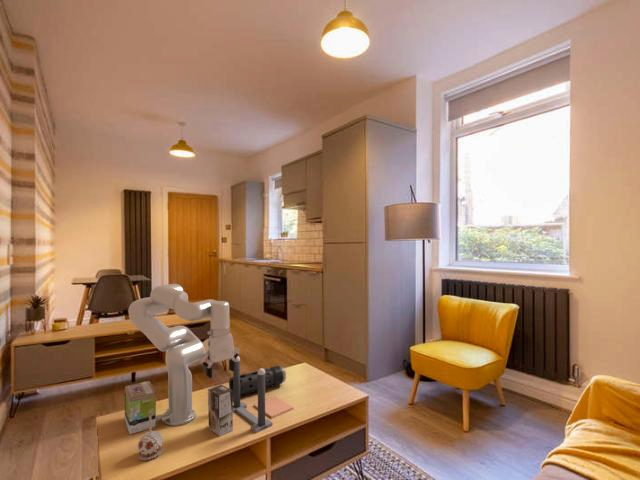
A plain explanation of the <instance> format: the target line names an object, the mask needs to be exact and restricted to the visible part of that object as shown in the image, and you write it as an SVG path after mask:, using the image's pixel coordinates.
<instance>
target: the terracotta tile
mask: <svg viewBox="0 0 640 480" xmlns="http://www.w3.org/2000/svg"><path fill="white" fill-rule="evenodd" d="M253 407H254V408H256V409H257V410H258V402H256V403H254V404H253ZM294 408H295V407H294V406H292V405H291V404H289V403H288V402H286V401H284V400H282V399H281V398H279V397H277V396H272V397H269V398H267V399H266V398H265V416H267V417H269V418H270V419H274V418H276V417H278V416H282V414H285V413H288V412H290V411H292V410H294Z"/></svg>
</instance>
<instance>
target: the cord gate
mask: <svg viewBox="0 0 640 480" xmlns="http://www.w3.org/2000/svg"><path fill="white" fill-rule="evenodd" d="M264 369H265V368H264V367H262V368H261V367H260V368H258V370H257V371H258V372H257V374H258V390H257V403H258V409H257V416H256V415H254V414H253V413H252V412H250V411H248V410H247V408H248V407H247V406H248V404H246V403H245V402H243V401H241V396H240V375H241V358H240V356H239V355H238V357H237V358H236V361H235V368H234V371H232V374H233V376H232V377H233V413H237V414H239V415H240V416H241V417H242V418H244V419H245V420H246V421H248V422H249V423H251V424H252V425H251V426H250V430H252V432H254V433H255V434H257V433H260V432H261V431H263V430H266V429H268V428H271V427H273V425H274V423H273V421H272V420H269V419H268V418H266V414H265V400H266V388H265V370H264Z"/></svg>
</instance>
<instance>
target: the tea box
mask: <svg viewBox="0 0 640 480" xmlns="http://www.w3.org/2000/svg"><path fill="white" fill-rule="evenodd" d="M149 413H152V428H156V425H157V423H156V422H157V419H156V416H157V391H156V390H155V388H154V386H153V384H152V383H151V381H150V380H148V381H143V382H139V383H138V382H137V383H133V384H129V385H125V387H124V421H125V425H126V427H127V430H128V434H129V435H132V434H135V433H136V434H137V433H139V432H143V431H146V430H149Z"/></svg>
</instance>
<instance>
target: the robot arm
mask: <svg viewBox="0 0 640 480" xmlns="http://www.w3.org/2000/svg"><path fill="white" fill-rule="evenodd" d="M170 309H172V310H173V312H174V313H175V315H176V316H177V317H178V318H180V319H183V320H186V321H188V322H198V321H203V320H205V319H209V318H210V321H209V322H210V330H209V331H207V332H206V333H207V336H208V335H209V337H208V340H207V350H206V348H205V345H204V344H203V342H202V341H201V339H200V338H199V337H197V336H196V335H195V334H194V333H193V332H192V330H191V329H190V328H188V327H186V326H185V325H182V324H181V325H175V326H171V327H168V326H167V325H166V324H164V322H163V321H162V320H160V319H159V318H157V317H153V315H159V314H162V313H165V312H167V311H168V310H170ZM128 317H129V320H130V322H131V323H132V325H133V326H134V327H135V328H136V329H137V330H139V331H140V332H141V333H143V334H144V335H145V336H146V338H147V339H148V340H149V341H150V342H151V343H152V344H153V345H154V346H155V347H156V348H157V350H158V351H161V352H167V353H166V354H165V364H166V365H165V366H166V369H167V375H168V377H167V378H168V379H167V383H168V387H167V389H168V390H167V391H168V393H167V394H168V395H167V397H168V408H167V409H166V410H165V411H164V412H163V413H161V414H156V422H157V421H160V420H161V422H164V423H165V424H166V425H168V426H181V425H182V426H183V425H185V424H188V423H190V422H192V421H193V420H194V419H195V418H196V416H197V413H196V410H194V409H193V376H192V371H191V370H190V369H189V366H190V365H191V364H194V363H195V362H198V361H200V363H201V365H202V366H204V367H205V375H206V376H207V377H208V378H209V379H212V378H213V367H212V365H213V364H215V363H220V362H224V361H227V360H228V369H229V371H231V372H233V371H234V368H235V361H236V358H237V357H238V356H239V354H240V352H241V348H239V347H235V344H234V338H233V334H232V333H231V331H230V328H231V327H230V324H231V323H230V318H231V317H230V304H229V302H228V301H226V300H225V301H224V300H215V299H211V298H210V299H205V300H199V301H196V302H190V301H189V296H188V293H187V292H186V291H184V288H183V287H182V286H181V285H180V284H178V283H170V284H169V283H168V284H162V285H161V284H160V285H157V286H155V287H154V288H153V289H152V290H151V291H150V295H149V296H148V297H143V298H140V299H137V300H135V301H133V302H131V304H130V305H129V306H128ZM206 359H207V361H205V360H206Z"/></svg>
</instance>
